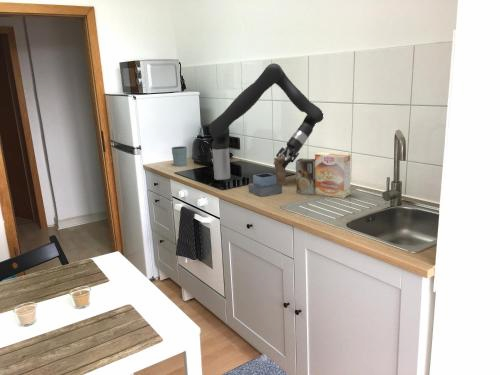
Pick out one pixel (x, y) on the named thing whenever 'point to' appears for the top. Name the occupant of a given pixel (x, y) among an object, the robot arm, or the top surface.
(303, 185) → the coffee box
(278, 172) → the walnut rail
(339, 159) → the coffeecake box
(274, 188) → the cup bracket
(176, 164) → the grey-blue cup
